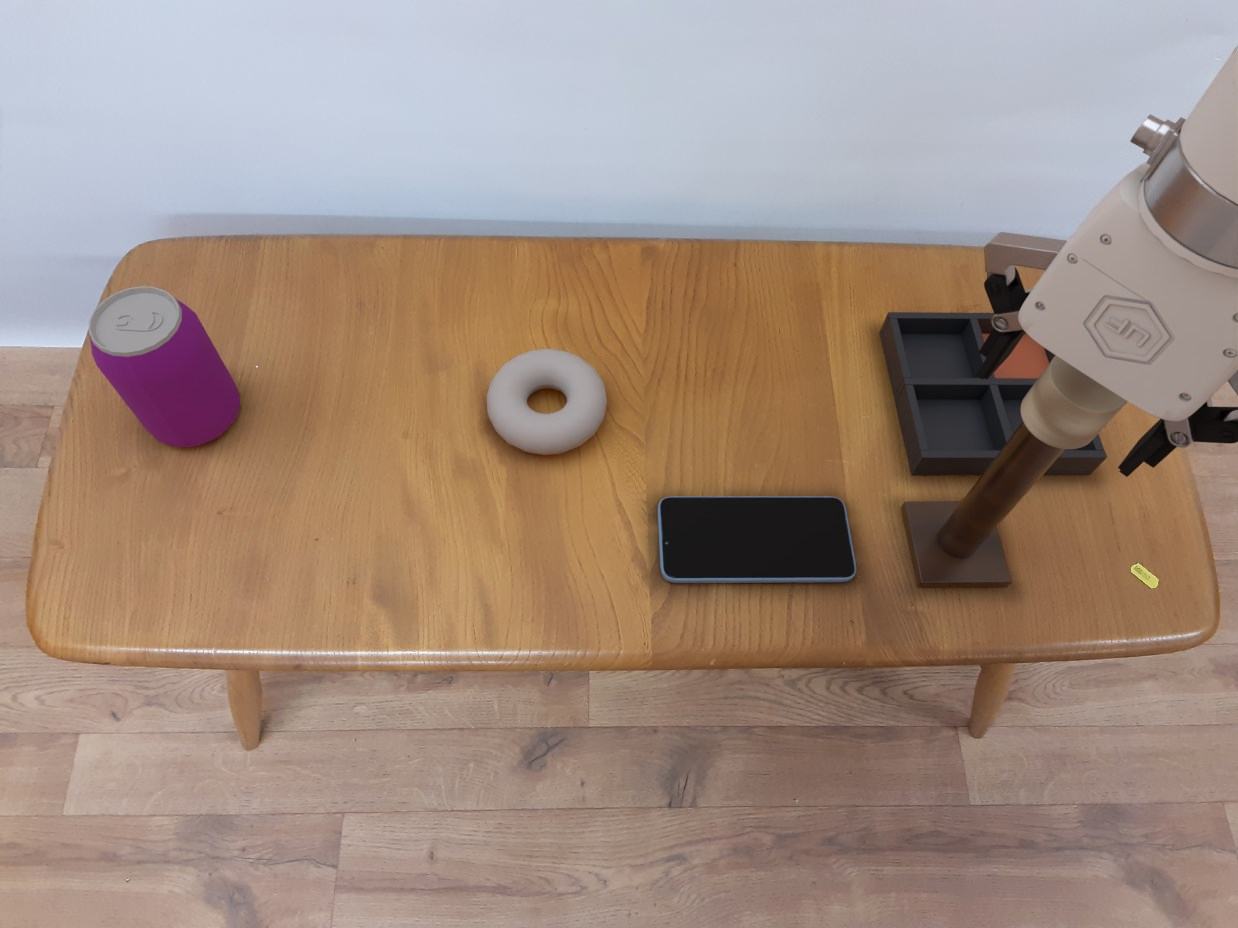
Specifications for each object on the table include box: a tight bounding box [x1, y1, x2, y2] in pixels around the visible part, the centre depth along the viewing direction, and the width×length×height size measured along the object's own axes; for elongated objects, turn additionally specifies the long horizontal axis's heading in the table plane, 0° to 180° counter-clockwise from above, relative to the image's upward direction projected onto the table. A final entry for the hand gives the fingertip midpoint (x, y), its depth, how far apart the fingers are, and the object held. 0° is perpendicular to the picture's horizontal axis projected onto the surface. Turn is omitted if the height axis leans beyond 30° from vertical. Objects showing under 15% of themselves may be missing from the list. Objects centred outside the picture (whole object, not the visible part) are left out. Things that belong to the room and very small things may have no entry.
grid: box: [878, 311, 1108, 476], centre depth 76 cm, size 15×15×3 cm
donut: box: [485, 348, 608, 456], centre depth 73 cm, size 10×4×10 cm
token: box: [1021, 356, 1128, 449], centre depth 52 cm, size 5×5×4 cm
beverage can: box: [87, 285, 241, 448], centre depth 68 cm, size 8×8×12 cm
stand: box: [900, 422, 1065, 589], centre depth 62 cm, size 7×7×18 cm
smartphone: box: [657, 495, 857, 584], centre depth 69 cm, size 7×1×15 cm
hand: (1060, 411), depth 54 cm, fingers open, 9 cm apart
